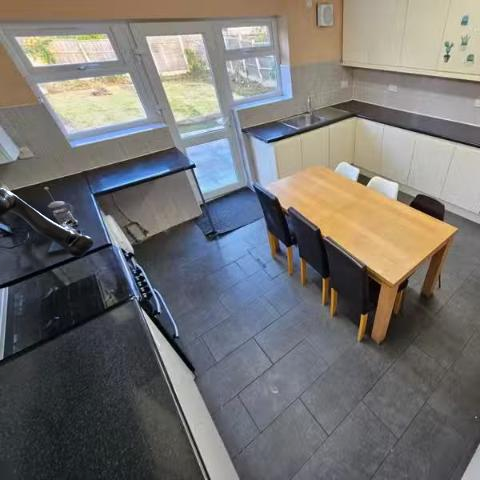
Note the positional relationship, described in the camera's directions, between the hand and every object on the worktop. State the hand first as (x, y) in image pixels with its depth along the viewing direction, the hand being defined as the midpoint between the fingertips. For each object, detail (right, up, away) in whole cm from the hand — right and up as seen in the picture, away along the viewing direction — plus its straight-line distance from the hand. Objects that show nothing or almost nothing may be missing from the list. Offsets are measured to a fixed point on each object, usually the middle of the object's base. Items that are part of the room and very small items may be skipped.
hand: (54, 223), depth 143 cm
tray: (-7, -11, +16) cm, 21 cm away
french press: (-22, +2, +32) cm, 39 cm away
